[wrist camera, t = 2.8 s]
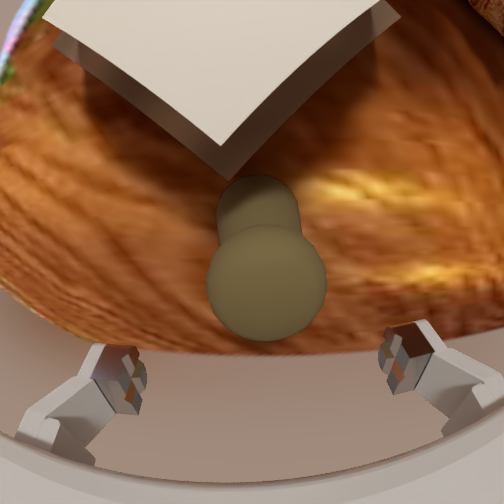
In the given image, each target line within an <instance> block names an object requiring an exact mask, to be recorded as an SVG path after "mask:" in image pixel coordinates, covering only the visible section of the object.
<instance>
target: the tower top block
mask: <svg viewBox="0 0 504 504" xmlns="http://www.w3.org/2000/svg"><path fill="white" fill-rule="evenodd" d="M378 1H380V0H55V1H54V2H53V4H52V5H51V6H50V7H49V9H48V10H47V12H46V13H45V14H44V16H43V17H42V18H43V19H45V20H46V21H48V22H50V23H52V24H53V25H55V26H56V27H58V28H60V29H61V30H63V31H65V32H66V33H68V34H69V35H71V36H72V37H74V38H76V39H77V40H79V41H80V42H82V43H83V44H85V45H86V46H88V47H89V48H91V49H92V50H94V51H95V52H97V53H98V54H100V55H101V56H103V57H104V58H106V59H107V60H109V61H110V62H112V63H113V64H114V65H116V66H117V67H119V68H120V69H121V70H123V71H124V72H126V73H127V74H128V75H130V76H131V77H133V78H134V79H135V80H137V81H138V82H140V83H141V84H142V85H144V86H145V87H146V88H148V89H149V90H150V91H152V92H153V93H154V94H156V95H157V96H158V97H160V98H161V99H162V100H164V101H165V102H166V103H167V104H169V105H170V106H171V107H173V108H174V109H175V110H177V111H178V112H179V113H180V114H182V115H183V116H184V117H185V118H187V119H188V120H189V121H190V122H192V123H193V124H194V125H195V126H197V127H198V128H199V129H200V130H202V131H203V132H204V133H205V134H207V135H208V136H209V137H210V138H211V139H213V140H214V141H215V142H216V143H218V144H219V145H220V146H221V145H222V144H223V143H224V142H225V141H226V140H227V139H228V138H229V137H230V136H231V135H232V134H233V132H234V131H235V130H236V129H237V128H238V127H239V126H240V125H241V124H242V123H243V122H244V121H245V120H246V119H247V117H248V116H249V115H250V114H251V113H252V112H253V111H254V110H255V109H256V108H257V107H258V106H259V105H260V104H261V103H262V102H263V101H264V100H265V99H266V98H267V97H268V96H269V95H270V94H271V93H272V92H273V91H274V90H275V89H276V88H277V87H278V86H279V85H280V84H281V83H282V82H283V81H284V80H285V79H286V78H288V77H289V76H290V75H291V74H292V73H293V72H294V71H295V70H296V69H297V68H298V67H299V66H300V65H301V64H303V63H304V62H305V61H306V60H307V59H308V58H309V57H310V56H311V55H313V54H314V53H315V52H316V51H317V50H318V49H319V48H321V47H322V46H323V45H324V44H325V43H326V42H328V41H329V40H330V39H331V38H332V37H333V36H335V35H336V34H337V33H338V32H340V31H341V30H342V29H343V28H344V27H346V26H347V25H348V24H349V23H351V22H352V21H353V20H355V19H356V18H357V17H358V16H360V15H361V14H362V13H364V12H365V11H366V10H368V9H369V8H370V7H372V6H373V5H374V4H376V3H377V2H378Z"/></svg>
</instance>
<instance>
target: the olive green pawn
mask: <svg viewBox="0 0 504 504" xmlns="http://www.w3.org/2000/svg"><path fill="white" fill-rule="evenodd" d="M216 223H217V231H218V239H219V247H220V248H219V249H218V250H217V251H216V252H215V254H214V256H213V259H212V261H211V264H210V266H209V269H208V272H207V296H208V300H209V302H210V305H211V308H212V310H213V313H214V314H215V315H216V317H217V318H218V319H219V320H220V321H221V322H222V324H223V325H224V326H225V327H226V328H228V329H229V330H230V331H232V332H234V333H235V334H237V335H239V336H240V337H243V338H247V339H250V340H254V341H269V342H271V341H276V340H281V339H286V338H288V337H290V336H293V335H295V334H297V333H299V332H301V331H302V330H303V329H304V328H306V327H307V326H308V325H309V324H310V323H311V322H312V321H313V320H314V318H315V317H316V315H317V314H318V312H319V311H320V309H321V307H322V306H323V303H324V300H325V296H326V292H327V279H326V270H325V266H324V264H323V262H322V260H321V258H320V256H319V254H318V252H317V251H316V249H315V247H314V246H313V245H312V244H311V243H310V242H309V241H308V240H307V239H305V238H304V237H303V235H302V228H301V222H300V215H299V209H298V204H297V200H296V198H295V196H294V195H293V193H292V191H291V190H290V189H289V188H288V187H287V186H286V185H285V184H284V183H282V182H281V181H279V180H277V179H275V178H272V177H270V176H264V175H252V176H247V177H243V178H240V179H239V180H237V181H235V182H234V183H232V184H231V185H229V187H228V188H227V189H226V190H225V191H224V192H223V194H222V195H221V197H220V200H219V202H218V205H217V210H216Z"/></svg>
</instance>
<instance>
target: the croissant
mask: <svg viewBox="0 0 504 504" xmlns="http://www.w3.org/2000/svg"><path fill="white" fill-rule="evenodd" d="M468 2H469V3H470V5H471V6H472V7H473V8H474V9H475V10H476V11H477V12H478V13H479V14H480V15H481V16H482V17H483V18H484V19H486V20H487V21H488V22H489V23H490V24H491V25H492V26H493V27H494V28H495V29H496V30H497V31H498V32H499V33H500V34H501V35H502V36H503V37H504V0H468Z"/></svg>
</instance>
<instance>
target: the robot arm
mask: <svg viewBox="0 0 504 504" xmlns="http://www.w3.org/2000/svg"><path fill="white" fill-rule="evenodd" d="M383 337H384V339H385V341H384V342H383V343H382V344H381V345H380V348H379V352H378V361H379V365H380V368H381V370H382V371H383V372H384V373H386V374H388V378H387V383H388V385H389V387H390V389H391V391H392V393H393V395H396V394H400V393H404V392H408V391H411V390H414V391H415V392H416V393H417V394H419V395H420V396H422V397H423V398H424V399H425V400H426V401H428V402H429V403H430V404H432V405H433V406H434V407H436V408H437V409H438V410H439V411H441V412H442V413H443V414H445V415H446V416H447V417H448V418H450V419H449V420H448V421H447V423H446V424H445V425H444V427H443V428H442V430H441V432H442V434H443V436H444V437H443V438H441V439H438V440H436V441H434V442H432V443H429V444H427V445H424V446H421V447H419V448H416V449H414V450H411V451H408V452H405V453H402V454H399V455H396V456H393V457H390V458H387V459H384V460H380V461H377V462H373V463H370V464H366V465H362V466H358V467H355V468H350V469H346V470H341V471H336V472H331V473H326V474H320V475H315V476H309V477H301V478H294V479H285V480H275V481H262V482H243V483H242V482H240V483H211V482H189V481H177V480H166V479H158V478H151V477H144V476H138V475H132V474H127V473H122V472H117V471H112V470H108V469H103V468H99V467H95V466H94V464H95V458H94V456H93V455H92V454H91V453H90V452H89V451H88V450H87V449H85V447H86V446H87V445H88V444H89V443H90V442H91V440H93V439H94V437H95V436H96V435H97V434H98V433H99V432H100V431H101V430H102V429H103V428H104V427H105V426H106V425H107V424H108V423H109V422H110V420H111V419H112V418H113V417H114V416H115V415H116V413H120V414H129V415H139V411H140V407H141V403H142V398H141V396H140V393H142V392H143V391H144V390H145V388H146V384H147V373H146V368H145V366H144V363H142V362H141V361H140V360H139V359H138V357H139V352H138V350H137V347H135V346H130V345H116V344H100V343H95V344H94V345H92V347H91V349H90V351H89V353H88V355H87V357H86V359H85V361H84V363H83V365H82V367H81V369H80V371H79V373H78V375H77V377H74V376H73V377H72V378H71V379H69V380H67V381H66V382H65V383H63V384H62V385H61V386H59V387H58V388H56V389H55V390H54V391H52V392H51V393H50V394H48V395H47V396H45V397H44V398H42V399H41V400H40V401H38V402H37V403H35V404H34V405H33V406H31V407H30V408H29V409H27V411H26V413H25V415H24V417H23V419H22V422H21V424H20V426H19V428H18V431H17V433H16V435H15V437H14V438H13V437H11V436H9V435H7V434H5V433H3V432H1V431H0V504H504V378H503V377H502V375H501V374H500V373H499V372H497V371H496V370H494V369H491V368H490V367H488V366H486V365H483V364H482V363H480V362H478V361H476V360H474V359H472V358H470V357H468V356H466V355H464V354H462V353H460V352H458V351H456V350H454V349H452V348H447V347H446V346H445V344H444V343H443V341H442V340H441V339H440V337H439V336H438V335H437V333H436V332H435V331H434V329H433V328H432V327H431V325H430V324H429V323H428V321H426V320H425V319H423V320H418V321H414V322H410V323H405V324H400V325H395V326H390V327H387V328H386V329H385V331H384V334H383Z"/></svg>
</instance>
